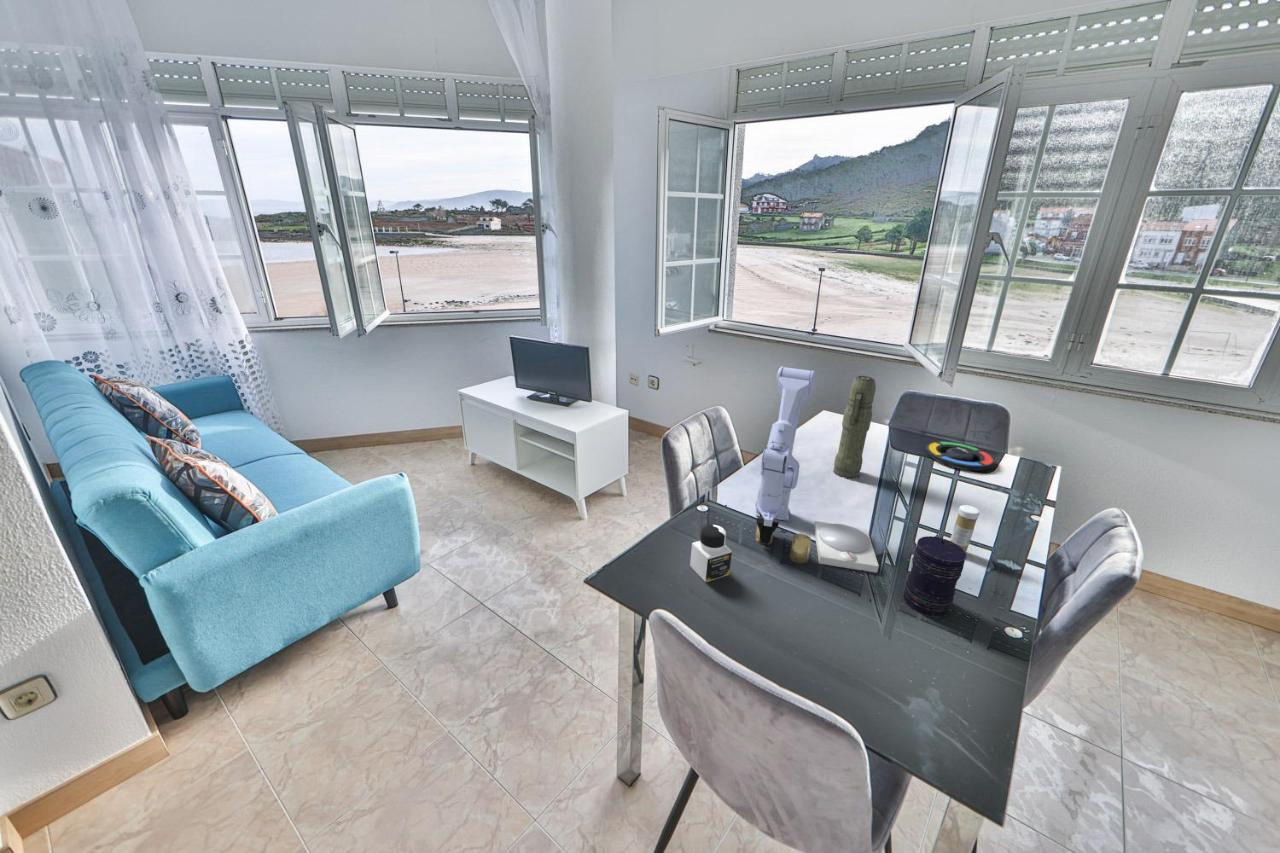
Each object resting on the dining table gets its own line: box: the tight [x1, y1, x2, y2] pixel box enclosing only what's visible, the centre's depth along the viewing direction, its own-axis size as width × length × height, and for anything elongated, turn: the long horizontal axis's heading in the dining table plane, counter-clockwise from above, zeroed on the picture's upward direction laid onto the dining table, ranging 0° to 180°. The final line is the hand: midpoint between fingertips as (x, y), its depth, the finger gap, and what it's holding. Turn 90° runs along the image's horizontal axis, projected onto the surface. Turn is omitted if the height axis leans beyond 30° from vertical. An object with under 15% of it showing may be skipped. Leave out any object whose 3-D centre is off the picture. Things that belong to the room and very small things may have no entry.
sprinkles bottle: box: [949, 504, 980, 553], centre depth 139 cm, size 5×5×13 cm
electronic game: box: [925, 440, 996, 472], centre depth 199 cm, size 23×23×5 cm
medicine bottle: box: [689, 524, 733, 583], centre depth 127 cm, size 7×7×12 cm
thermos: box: [832, 375, 877, 480], centre depth 179 cm, size 9×12×35 cm
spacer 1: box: [755, 516, 776, 545], centre depth 142 cm, size 4×4×6 cm
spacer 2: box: [789, 533, 812, 564], centre depth 135 cm, size 4×4×6 cm
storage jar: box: [902, 535, 967, 618], centre depth 119 cm, size 10×10×15 cm
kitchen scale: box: [813, 520, 880, 574], centre depth 140 cm, size 14×18×3 cm
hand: (764, 535), depth 143 cm, fingers open, 6 cm apart
